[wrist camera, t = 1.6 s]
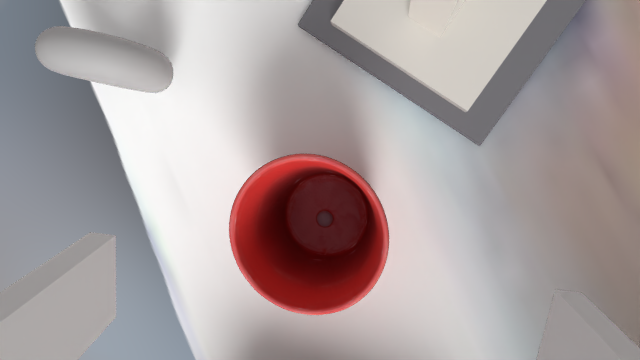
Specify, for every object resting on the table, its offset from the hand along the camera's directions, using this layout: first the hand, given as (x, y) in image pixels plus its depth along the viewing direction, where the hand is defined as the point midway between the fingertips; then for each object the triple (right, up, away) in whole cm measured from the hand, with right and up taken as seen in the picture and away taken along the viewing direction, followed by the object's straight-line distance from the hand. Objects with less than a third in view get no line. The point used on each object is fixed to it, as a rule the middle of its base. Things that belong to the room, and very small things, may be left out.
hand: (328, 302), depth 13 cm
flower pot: (0, +1, +26) cm, 26 cm away
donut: (-16, +13, +27) cm, 35 cm away
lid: (+10, +18, +22) cm, 30 cm away
